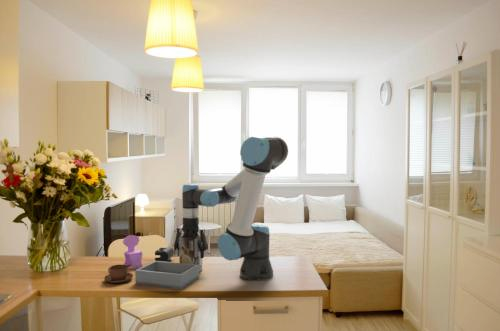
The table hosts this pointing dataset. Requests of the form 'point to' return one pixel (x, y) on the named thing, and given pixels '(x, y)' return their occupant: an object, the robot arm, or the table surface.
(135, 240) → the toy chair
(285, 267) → the table surface
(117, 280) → the cup and saucer
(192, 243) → the coffee box
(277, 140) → the robot arm
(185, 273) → the walled bin
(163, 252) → the end cap
